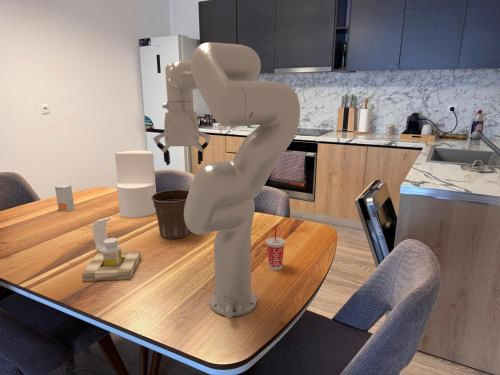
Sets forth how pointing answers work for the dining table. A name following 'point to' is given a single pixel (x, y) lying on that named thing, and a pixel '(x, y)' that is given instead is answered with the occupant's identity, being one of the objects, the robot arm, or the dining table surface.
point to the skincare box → (64, 197)
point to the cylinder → (135, 183)
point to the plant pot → (171, 213)
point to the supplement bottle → (112, 253)
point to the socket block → (111, 268)
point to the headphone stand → (100, 233)
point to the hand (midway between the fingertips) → (183, 164)
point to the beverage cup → (275, 252)
